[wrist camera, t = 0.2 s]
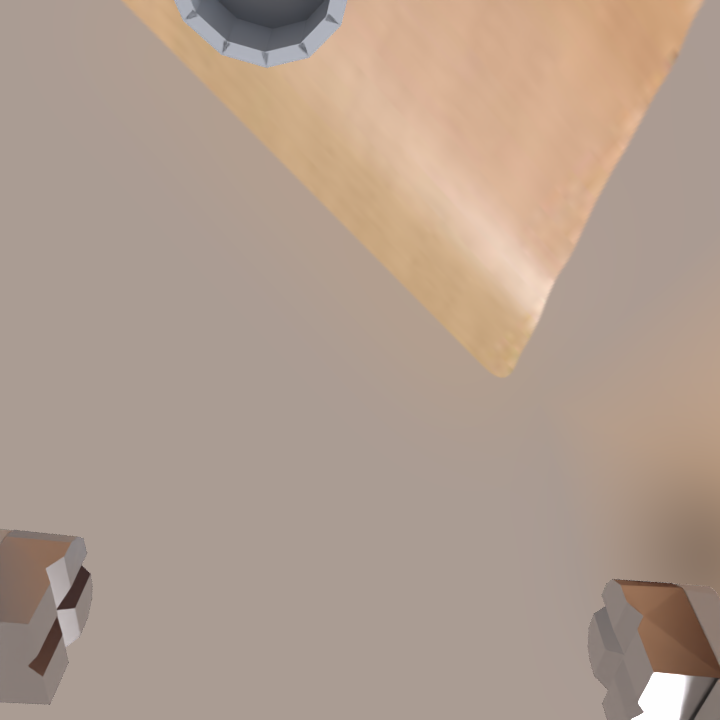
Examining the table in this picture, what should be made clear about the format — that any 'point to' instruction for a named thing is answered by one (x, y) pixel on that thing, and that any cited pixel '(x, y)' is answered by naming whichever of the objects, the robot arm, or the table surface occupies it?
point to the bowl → (264, 27)
